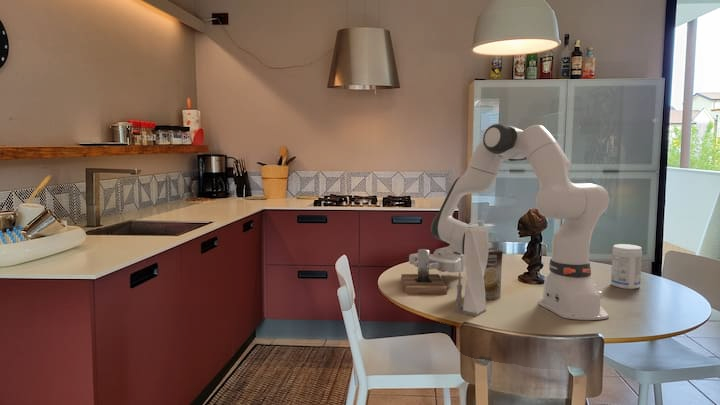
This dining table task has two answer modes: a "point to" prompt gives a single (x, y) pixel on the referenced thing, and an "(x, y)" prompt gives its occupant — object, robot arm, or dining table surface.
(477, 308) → the skyscraper
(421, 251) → the steel pin
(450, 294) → the dining table surface
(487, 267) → the coffee box
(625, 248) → the supplement tub
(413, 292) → the slot plate
